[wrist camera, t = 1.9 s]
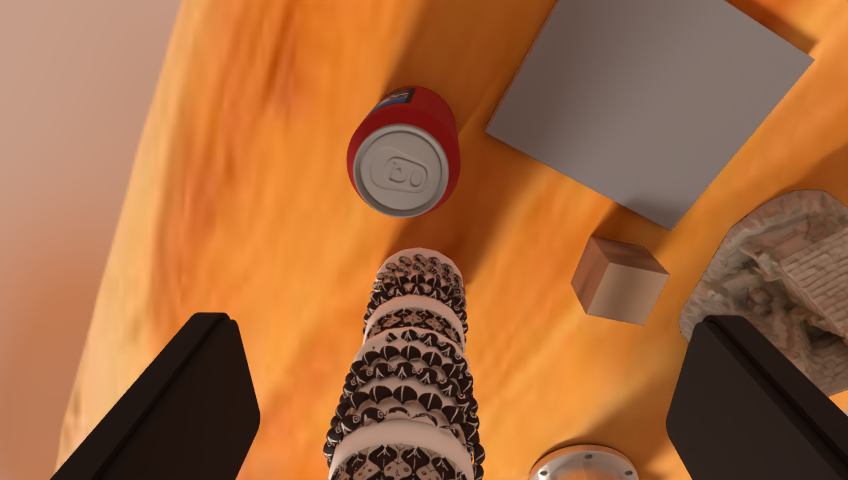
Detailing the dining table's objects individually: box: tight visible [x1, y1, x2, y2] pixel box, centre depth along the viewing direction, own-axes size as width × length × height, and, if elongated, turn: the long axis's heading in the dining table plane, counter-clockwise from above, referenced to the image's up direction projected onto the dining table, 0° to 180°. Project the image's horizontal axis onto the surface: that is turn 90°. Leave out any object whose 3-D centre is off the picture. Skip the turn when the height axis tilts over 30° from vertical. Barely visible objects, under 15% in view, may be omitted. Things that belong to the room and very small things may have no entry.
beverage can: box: [347, 86, 460, 218], centre depth 30 cm, size 7×7×12 cm
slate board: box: [484, 0, 815, 231], centre depth 33 cm, size 18×15×1 cm
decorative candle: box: [323, 247, 485, 480], centre depth 30 cm, size 9×9×25 cm
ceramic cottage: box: [679, 189, 848, 398], centre depth 34 cm, size 16×16×15 cm
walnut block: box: [571, 236, 670, 326], centre depth 38 cm, size 5×5×5 cm
